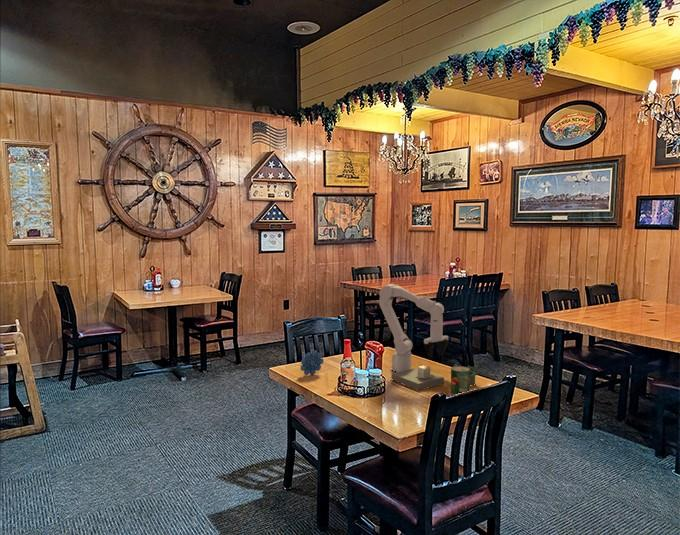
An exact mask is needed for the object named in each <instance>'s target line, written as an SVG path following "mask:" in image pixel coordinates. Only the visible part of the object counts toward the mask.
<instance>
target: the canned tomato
mask: <svg viewBox="0 0 680 535" xmlns="http://www.w3.org/2000/svg"><path fill="white" fill-rule="evenodd" d="M470 371H471V369H470V368H469V367H467V366H462V365H457V366H452V367H450V395H453V396H455V394H458V393H462V392H467V391H469V392H470V386H469V378H470Z"/></svg>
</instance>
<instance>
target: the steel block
mask: <svg viewBox="0 0 680 535" xmlns="http://www.w3.org/2000/svg"><path fill="white" fill-rule="evenodd" d="M417 369H418V379H421V380H427V379H430V373H431V367H430V366H427V365H420V366H417Z"/></svg>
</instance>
